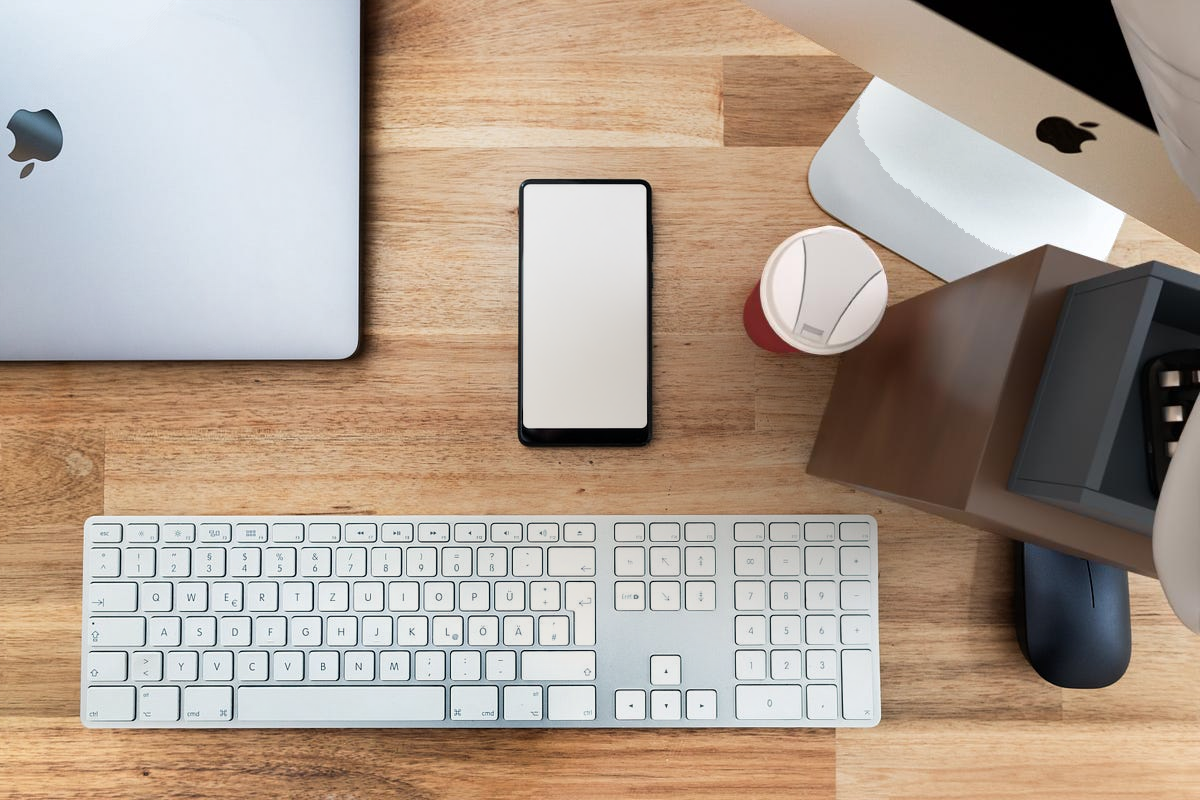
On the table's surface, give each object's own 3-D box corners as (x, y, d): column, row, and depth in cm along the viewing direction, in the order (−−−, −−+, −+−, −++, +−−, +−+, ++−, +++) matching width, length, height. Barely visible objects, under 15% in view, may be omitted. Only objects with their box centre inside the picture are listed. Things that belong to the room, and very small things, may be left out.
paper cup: (808, 383, 65) (867, 372, 51) (713, 345, 65) (744, 324, 51) (846, 286, 65) (915, 248, 51) (751, 248, 65) (793, 200, 51)
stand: (852, 320, 65) (1047, 242, 37) (1031, 377, 65) (1362, 343, 37) (804, 473, 64) (963, 512, 36) (983, 530, 64) (1281, 614, 36)
